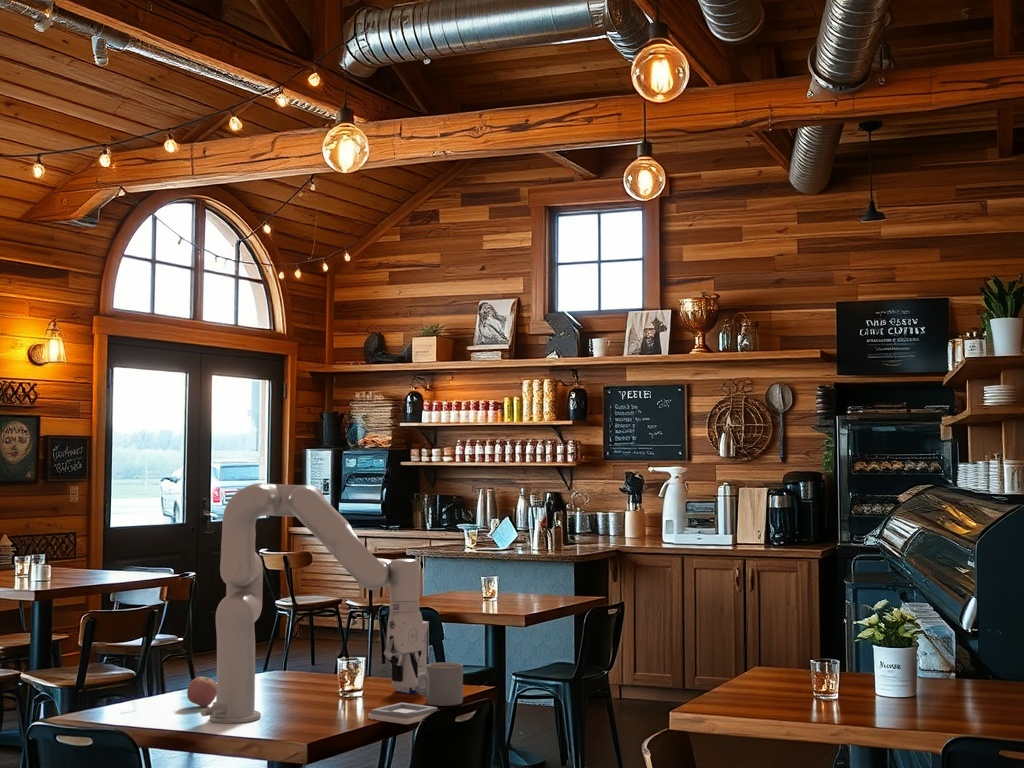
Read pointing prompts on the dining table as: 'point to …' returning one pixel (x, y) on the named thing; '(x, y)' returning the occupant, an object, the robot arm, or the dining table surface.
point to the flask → (406, 674)
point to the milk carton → (420, 662)
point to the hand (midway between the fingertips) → (404, 678)
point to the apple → (202, 691)
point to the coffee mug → (442, 684)
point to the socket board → (401, 713)
